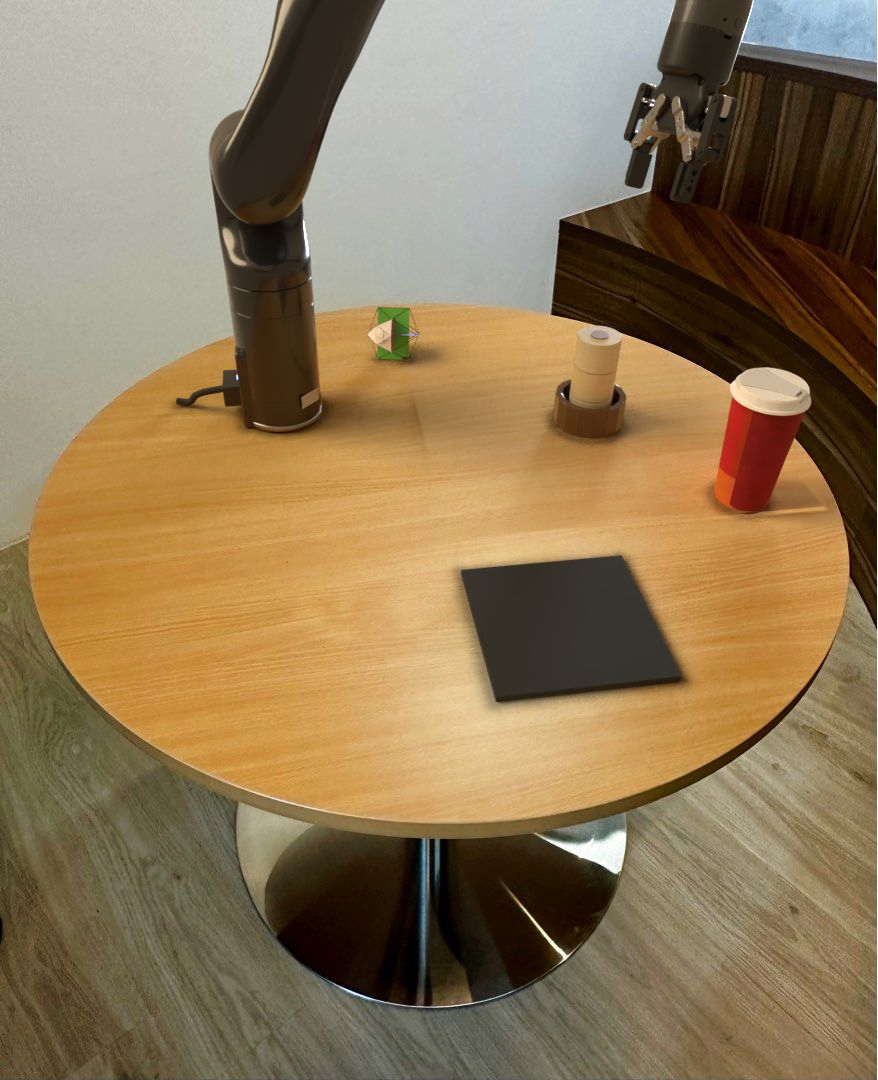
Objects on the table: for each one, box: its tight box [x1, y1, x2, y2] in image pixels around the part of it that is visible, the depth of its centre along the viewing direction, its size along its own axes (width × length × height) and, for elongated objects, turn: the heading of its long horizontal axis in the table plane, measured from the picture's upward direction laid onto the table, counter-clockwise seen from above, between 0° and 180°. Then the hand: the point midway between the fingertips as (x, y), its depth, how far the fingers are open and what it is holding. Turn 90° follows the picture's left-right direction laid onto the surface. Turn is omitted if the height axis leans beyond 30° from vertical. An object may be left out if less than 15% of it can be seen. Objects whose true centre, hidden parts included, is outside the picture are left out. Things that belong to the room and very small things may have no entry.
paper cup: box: [714, 366, 812, 515], centre depth 91 cm, size 8×8×14 cm
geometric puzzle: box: [365, 306, 421, 361], centre depth 117 cm, size 7×7×8 cm
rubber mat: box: [460, 554, 683, 702], centre depth 79 cm, size 16×16×1 cm
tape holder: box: [552, 378, 628, 439], centre depth 105 cm, size 8×8×4 cm
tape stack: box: [569, 325, 623, 409], centre depth 103 cm, size 5×5×11 cm
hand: (655, 194), depth 97 cm, fingers open, 8 cm apart
